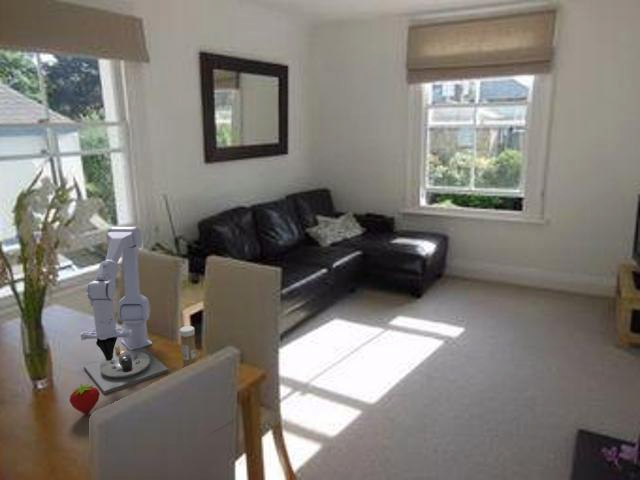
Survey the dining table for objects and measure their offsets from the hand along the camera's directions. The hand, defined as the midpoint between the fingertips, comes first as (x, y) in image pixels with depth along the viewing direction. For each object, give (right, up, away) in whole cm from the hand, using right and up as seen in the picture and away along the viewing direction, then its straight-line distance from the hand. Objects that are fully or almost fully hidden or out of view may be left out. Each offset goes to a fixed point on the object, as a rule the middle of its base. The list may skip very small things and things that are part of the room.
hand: (109, 359), depth 153 cm
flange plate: (+2, -4, +8) cm, 9 cm away
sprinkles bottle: (+22, -5, +10) cm, 25 cm away
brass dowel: (-3, -4, +14) cm, 15 cm away
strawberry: (0, -12, -16) cm, 19 cm away
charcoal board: (+2, -5, +8) cm, 10 cm away
